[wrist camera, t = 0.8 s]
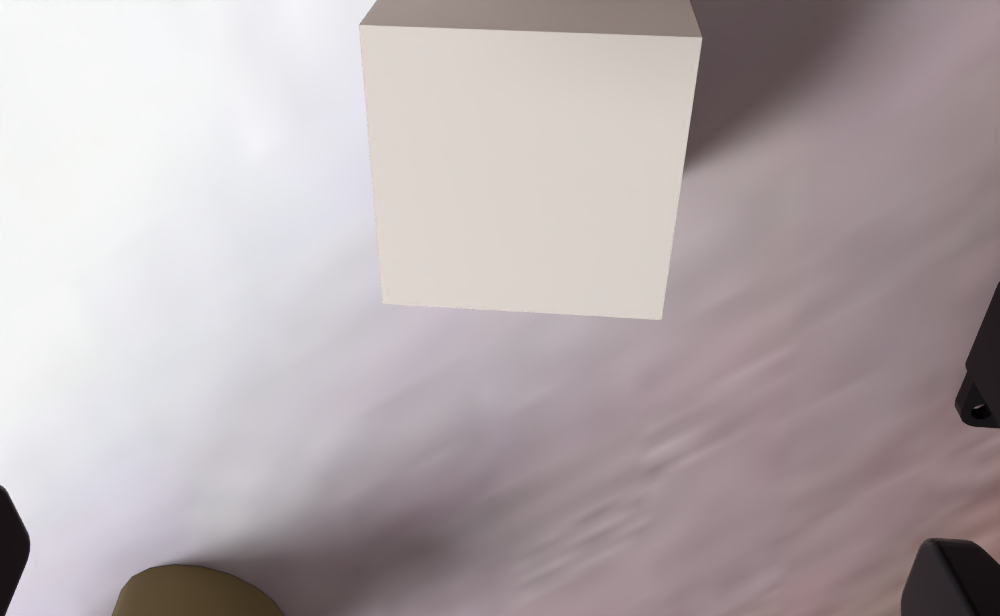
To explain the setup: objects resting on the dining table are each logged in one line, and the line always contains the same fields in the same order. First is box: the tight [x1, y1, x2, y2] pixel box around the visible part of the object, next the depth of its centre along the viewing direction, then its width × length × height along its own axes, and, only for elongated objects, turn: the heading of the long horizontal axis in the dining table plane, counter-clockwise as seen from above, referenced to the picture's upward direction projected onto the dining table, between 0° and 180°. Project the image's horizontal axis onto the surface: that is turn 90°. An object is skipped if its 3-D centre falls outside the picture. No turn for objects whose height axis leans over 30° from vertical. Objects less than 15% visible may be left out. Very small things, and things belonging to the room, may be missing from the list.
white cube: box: [359, 0, 702, 320], centre depth 16 cm, size 5×5×5 cm
